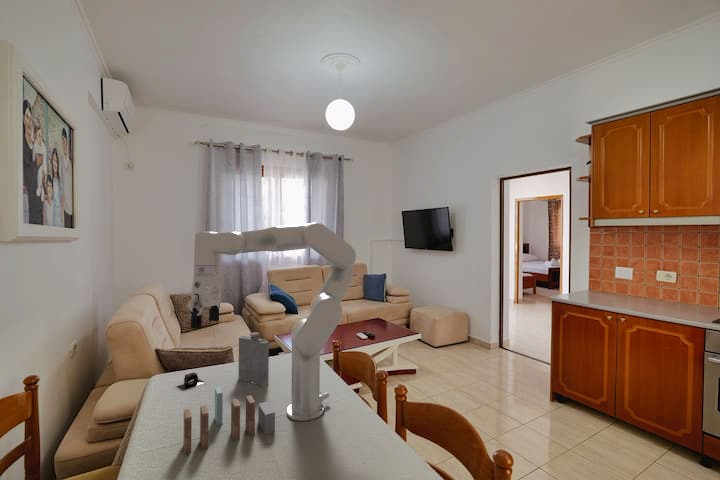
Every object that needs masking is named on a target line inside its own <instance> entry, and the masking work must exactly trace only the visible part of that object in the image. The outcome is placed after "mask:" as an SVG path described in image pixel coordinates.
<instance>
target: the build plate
mask: <svg viewBox="0 0 720 480" xmlns="http://www.w3.org/2000/svg"><path fill="white" fill-rule="evenodd" d="M204 383H206V382H205V381H203V380H201V379H200V378H199V375H198V373H196V372H190V373H187V374H185V375H184V378H183V384H180V385H176V388H177V389H179V390H181V391H185V390H188V389H190V388H193V387H196V386H199V385H202V384H204Z"/></svg>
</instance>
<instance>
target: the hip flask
mask: <svg viewBox="0 0 720 480" xmlns="http://www.w3.org/2000/svg"><path fill="white" fill-rule="evenodd" d="M249 335H250V336H247V335H246V336H245V335H242V336H239V337H238V380H239V381H243V380H245V381H244V382H248V381H249V382H248V383H251V382H253V383H252V384H254V383H256V384H255V385H257V384H258V385H257V386H259V385H260V387H261V386H262V387H261V388H266V387H268V386H269V372H270V371H269V369H270V367H269V365H270V364H269V363H270V361H269V359H270V357H269V355H270V351H269V349H270V347H269V346H270V342H269V341H268V340H266V339H263V338H260V333H259V332H257V331H255V332H251V333H249ZM267 385H268V386H267ZM265 386H266V387H265Z"/></svg>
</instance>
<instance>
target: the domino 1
mask: <svg viewBox="0 0 720 480" xmlns="http://www.w3.org/2000/svg"><path fill="white" fill-rule="evenodd" d="M192 417H193V416H192V411H191V408H188V409H184V410H183V450H184V451H183V452H184V455H188V454H191V453H192V427H193V426H192Z"/></svg>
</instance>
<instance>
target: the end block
mask: <svg viewBox="0 0 720 480" xmlns="http://www.w3.org/2000/svg"><path fill="white" fill-rule="evenodd" d="M257 411H258V413H257V414H258V417H257V423H258V425H259V426H260V428H261V430H262V431H263V433H264V434H263V435H268V434H272V433H275V432H276V411H275V410H274V409H273V406H271V404H270V403H269V401H265V402H259V403H258V409H257Z"/></svg>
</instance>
